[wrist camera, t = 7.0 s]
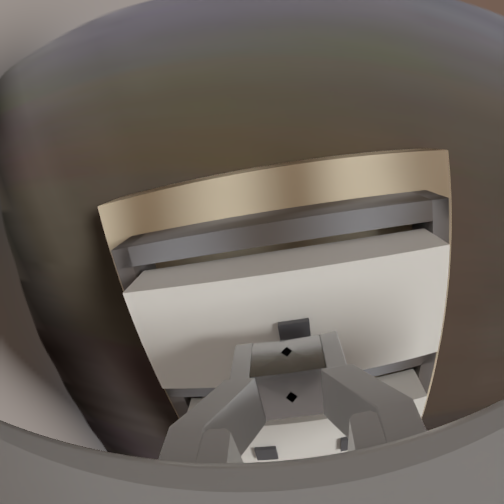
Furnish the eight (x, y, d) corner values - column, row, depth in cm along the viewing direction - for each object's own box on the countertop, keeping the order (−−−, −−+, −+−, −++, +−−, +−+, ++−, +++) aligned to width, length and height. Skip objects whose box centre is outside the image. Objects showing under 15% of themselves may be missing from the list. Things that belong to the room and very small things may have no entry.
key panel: (423, 148, 13) (472, 152, 9) (398, 443, 21) (410, 481, 16) (121, 197, 15) (73, 216, 11) (223, 465, 23) (216, 505, 18)
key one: (424, 228, 10) (452, 246, 8) (419, 325, 12) (439, 354, 10) (143, 270, 12) (119, 296, 9) (174, 359, 13) (161, 391, 11)
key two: (413, 368, 12) (428, 398, 10) (401, 422, 14) (412, 450, 12) (191, 398, 14) (181, 430, 12) (214, 445, 15) (208, 475, 13)
